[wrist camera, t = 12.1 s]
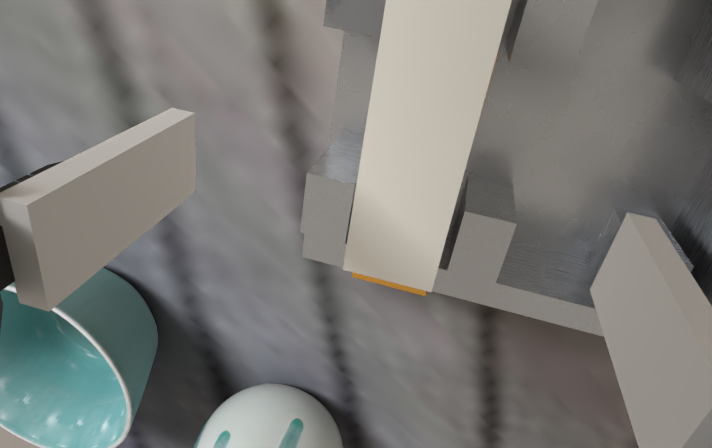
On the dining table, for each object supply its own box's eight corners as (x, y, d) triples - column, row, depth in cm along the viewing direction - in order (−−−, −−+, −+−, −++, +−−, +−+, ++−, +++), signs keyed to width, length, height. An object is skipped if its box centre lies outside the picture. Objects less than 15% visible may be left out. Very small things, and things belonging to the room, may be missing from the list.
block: (380, 189, 30) (342, 269, 22) (422, -34, 24) (391, -32, 16) (446, 205, 29) (431, 292, 22) (505, -19, 23) (514, -10, 16)
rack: (324, 208, 33) (265, 296, 24) (366, -97, 24) (298, -130, 16) (763, 318, 29) (879, 467, 21) (988, 7, 21) (1342, 38, 12)
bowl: (1, 211, 40) (-106, 265, 32) (181, 244, 37) (107, 311, 30) (47, 358, 47) (-32, 428, 40) (199, 395, 44) (144, 477, 37)
